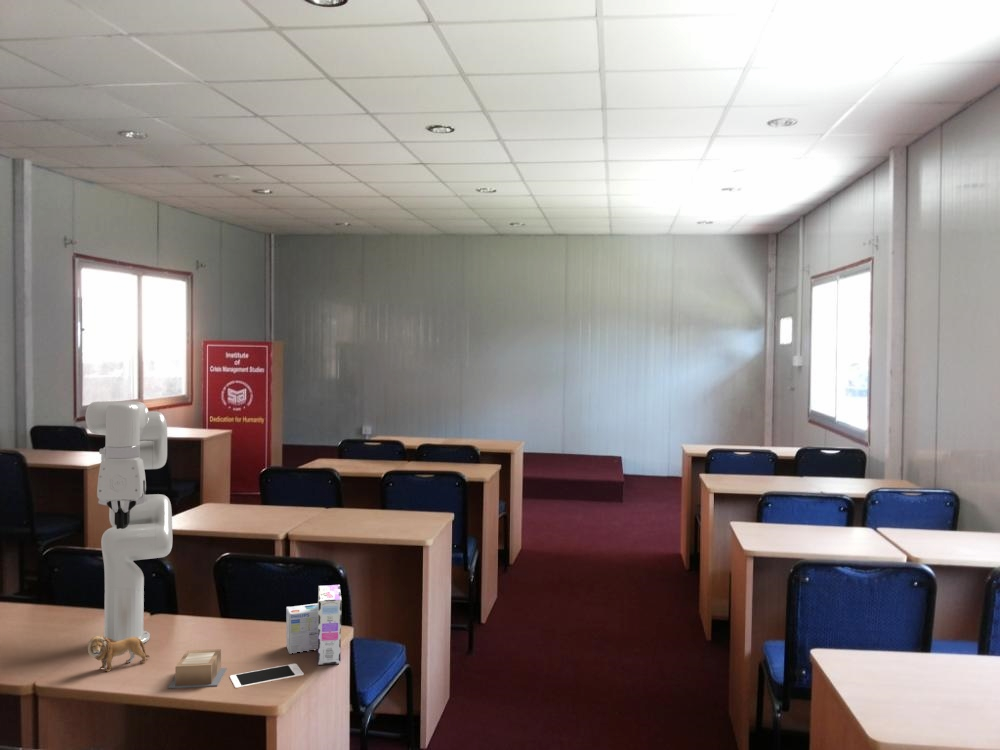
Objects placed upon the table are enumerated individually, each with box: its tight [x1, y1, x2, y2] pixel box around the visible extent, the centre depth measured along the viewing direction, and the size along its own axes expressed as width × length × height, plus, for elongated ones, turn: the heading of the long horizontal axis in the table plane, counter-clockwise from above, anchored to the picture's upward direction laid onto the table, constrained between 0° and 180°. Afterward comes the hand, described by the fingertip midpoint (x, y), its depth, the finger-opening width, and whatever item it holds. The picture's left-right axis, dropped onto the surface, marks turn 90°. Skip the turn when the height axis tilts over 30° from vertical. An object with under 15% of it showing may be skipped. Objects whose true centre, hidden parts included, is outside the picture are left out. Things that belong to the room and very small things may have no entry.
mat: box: [167, 667, 227, 690], centre depth 178 cm, size 10×11×1 cm
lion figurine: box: [87, 635, 150, 672], centre depth 185 cm, size 15×5×9 cm, turn 139°
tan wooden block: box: [174, 648, 222, 686], centre depth 179 cm, size 5×8×10 cm
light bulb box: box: [285, 602, 318, 655], centre depth 199 cm, size 11×7×11 cm, turn 114°
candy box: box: [317, 584, 343, 666], centre depth 194 cm, size 14×6×16 cm, turn 14°
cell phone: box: [229, 663, 304, 689], centre depth 180 cm, size 8×16×1 cm, turn 120°
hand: (122, 527), depth 183 cm, fingers closed
